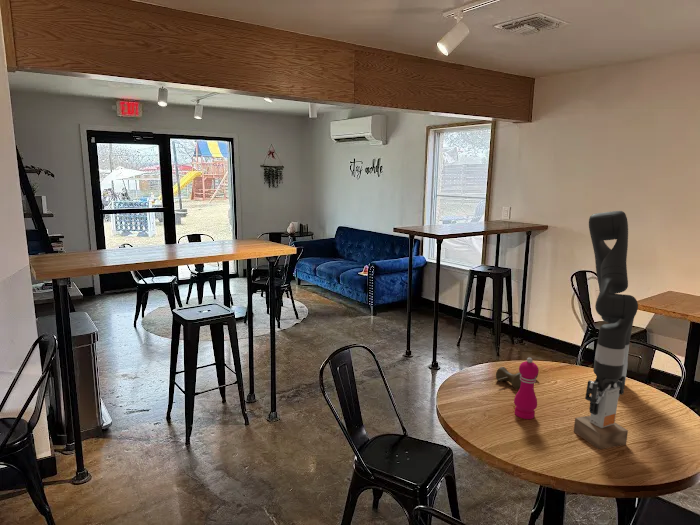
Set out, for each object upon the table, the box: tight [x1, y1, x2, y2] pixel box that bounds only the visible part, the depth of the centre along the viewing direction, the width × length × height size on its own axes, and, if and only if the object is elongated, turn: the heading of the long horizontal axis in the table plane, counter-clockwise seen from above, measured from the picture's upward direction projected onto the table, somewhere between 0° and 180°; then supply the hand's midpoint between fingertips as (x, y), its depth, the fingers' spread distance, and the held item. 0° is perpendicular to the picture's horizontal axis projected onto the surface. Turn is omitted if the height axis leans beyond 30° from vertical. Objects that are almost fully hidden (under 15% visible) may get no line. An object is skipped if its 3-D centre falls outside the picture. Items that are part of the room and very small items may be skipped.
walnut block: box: [573, 415, 629, 450], centre depth 141 cm, size 10×10×5 cm
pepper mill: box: [513, 357, 539, 420], centre depth 153 cm, size 7×7×20 cm
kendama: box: [495, 366, 539, 390], centre depth 180 cm, size 6×10×20 cm
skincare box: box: [589, 388, 620, 428], centre depth 140 cm, size 6×4×12 cm
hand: (602, 410), depth 140 cm, fingers open, 8 cm apart
